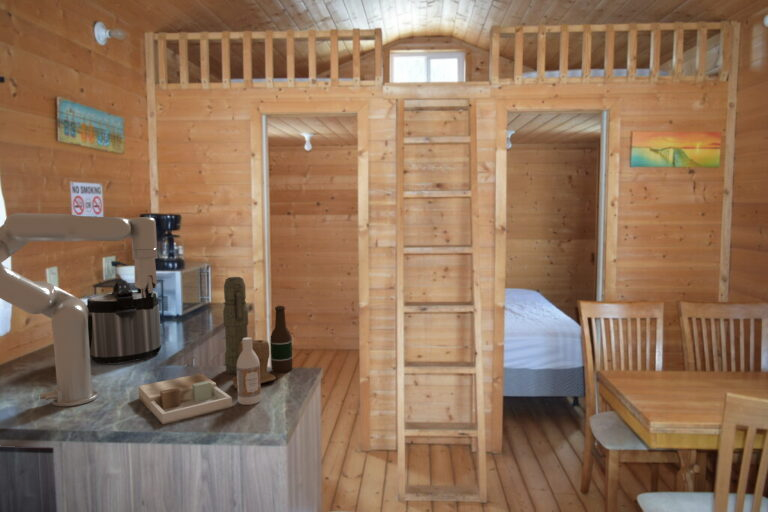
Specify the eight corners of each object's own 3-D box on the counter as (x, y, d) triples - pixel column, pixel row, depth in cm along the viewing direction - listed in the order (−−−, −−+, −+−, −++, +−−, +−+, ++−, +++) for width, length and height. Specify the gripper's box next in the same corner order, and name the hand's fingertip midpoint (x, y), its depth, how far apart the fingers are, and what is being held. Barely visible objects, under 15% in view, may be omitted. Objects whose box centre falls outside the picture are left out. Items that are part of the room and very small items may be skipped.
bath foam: (242, 407, 155) (239, 342, 154) (235, 400, 161) (232, 337, 160) (264, 402, 159) (261, 338, 158) (256, 395, 165) (254, 334, 163)
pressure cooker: (113, 347, 230) (109, 276, 227) (175, 347, 228) (171, 276, 226) (68, 367, 200) (63, 286, 197) (138, 367, 198) (134, 286, 196)
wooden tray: (150, 411, 154) (149, 398, 153) (139, 398, 164) (138, 386, 164) (216, 395, 166) (216, 383, 166) (201, 384, 177) (201, 373, 177)
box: (163, 424, 143) (162, 414, 143) (150, 411, 153) (150, 401, 153) (232, 407, 156) (231, 397, 156) (216, 395, 166) (216, 386, 166)
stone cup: (265, 374, 187) (264, 334, 186) (279, 383, 177) (278, 340, 176) (224, 383, 178) (222, 340, 177) (237, 392, 168) (235, 347, 167)
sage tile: (192, 399, 161) (195, 401, 159) (192, 384, 161) (194, 386, 159) (208, 395, 164) (211, 398, 162) (208, 380, 164) (210, 382, 162)
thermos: (233, 376, 185) (229, 280, 182) (220, 369, 194) (216, 277, 191) (256, 371, 190) (252, 278, 187) (242, 364, 200) (239, 275, 197)
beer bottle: (283, 365, 198) (281, 303, 196) (296, 369, 193) (295, 305, 191) (267, 370, 192) (264, 306, 190) (280, 374, 187) (278, 309, 185)
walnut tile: (161, 407, 155) (163, 409, 153) (160, 391, 155) (162, 393, 153) (178, 403, 158) (180, 405, 156) (177, 387, 158) (180, 389, 156)
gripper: (127, 254, 174) (130, 307, 176) (138, 256, 163) (141, 313, 164) (151, 252, 179) (153, 304, 180) (163, 255, 167) (166, 310, 169)
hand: (147, 308), depth 172 cm, fingers closed
